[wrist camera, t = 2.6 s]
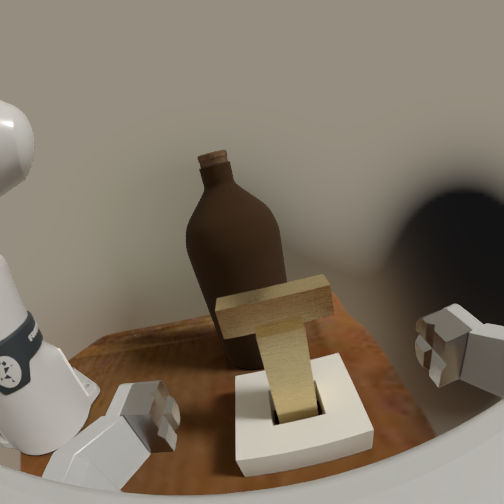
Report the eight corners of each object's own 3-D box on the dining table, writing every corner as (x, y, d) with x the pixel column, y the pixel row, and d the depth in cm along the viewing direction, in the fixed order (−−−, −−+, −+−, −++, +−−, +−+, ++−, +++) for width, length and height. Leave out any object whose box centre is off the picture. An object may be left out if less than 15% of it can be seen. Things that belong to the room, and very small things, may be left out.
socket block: (244, 476, 21) (235, 460, 20) (242, 395, 31) (235, 376, 30) (371, 448, 20) (373, 429, 19) (340, 373, 31) (338, 352, 30)
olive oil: (273, 382, 32) (214, 148, 25) (206, 361, 39) (145, 171, 31) (314, 330, 40) (278, 138, 32) (251, 320, 46) (209, 155, 39)
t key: (259, 442, 24) (214, 316, 20) (257, 417, 27) (217, 294, 23) (344, 423, 24) (333, 289, 20) (335, 399, 27) (320, 270, 23)
